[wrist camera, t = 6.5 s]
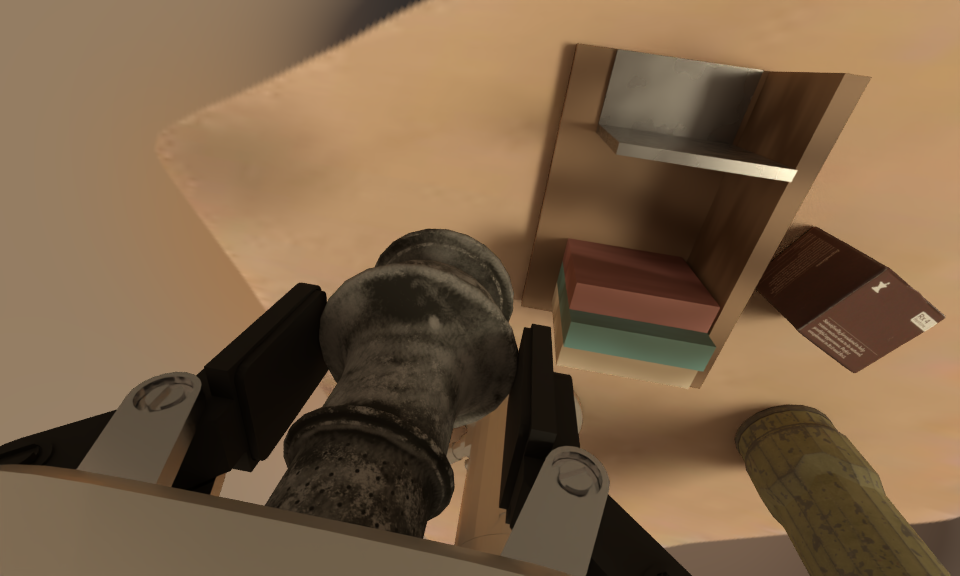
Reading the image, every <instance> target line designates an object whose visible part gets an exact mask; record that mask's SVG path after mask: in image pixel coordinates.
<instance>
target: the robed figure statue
mask: <svg viewBox="0 0 960 576" xmlns="http://www.w3.org/2000/svg"><path fill="white" fill-rule="evenodd" d="M735 443H736V448H737V450H738V452H739V453H740V455H741V456H742V458H743V459H744V461H745V465H746V471H747V472H748V474H749V476H750V478H751V480H752V482H753V484H754V486H755V488H756V490H757V492H758V493H759V495H760V497H761V499H762V500H763V502H764V504H765V505H766V507H767V508H768V510H769V511H770V513H771V514H772V516H773V517H774V518H775V519H776V520H777V521H778V522H779V523H780V524H781V525H782V526H783V527H784V529H785V530H786V532H787V534H788V536H789V538H790V540H791V541H792V543H793V545H794V547H795V549H796V551H797V552H798V554H799V556H800V558H801V560H802V562H803V564H804V566H805V567H806V569H807V571H808V573H809V575H810V576H951V575H950V573H949V572H948V571H947V570H946V569H945V567H944V566H943V565H942V564H941V562H940V561H939V560H938V559H937V558H936V556H935V555H934V554H933V553H932V552H931V550H930V549H929V548H928V547H927V545H926V544H925V543H924V542H923V541H922V539H921V538H920V537H919V536H918V534H917V533H916V532H915V531H914V530H913V528H912V527H911V526H910V525H909V523H908V522H907V521H906V520H905V518H904V517H903V516H902V515H901V513H900V512H899V511H898V510H897V509H896V507H895V506H894V505H893V504H892V502H891V501H890V500H889V499H888V498H887V496H886V494H885V492H884V489H883V486H882V483H881V480H880V477H879V475H878V474H877V473H876V471H875V470H874V469H873V468H872V467H871V465H870V464H869V463H868V462H867V461H866V459H865V458H864V457H863V456H862V455H861V454H860V452H859V451H858V450H857V449H856V448H855V446H854V445H853V444H852V443H851V442H850V440H849V439H848V438H847V437H846V436H845V435H843V434H841V433H840V432H838V431H837V429H836V428H835V427H834V426H833V424H832V422H831V421H830V420H829V418H828V417H827V416H826V415H825V414H823V413H822V412H820V411H818V410H817V409H814V408H811V407H807V406H803V405H784V406H778V407H772V408H769V409H766V410H764V411H761V412H759V413H756V414H755V415H753V416H752V417H750V418H749V419H747V420H746V421H745V422H744V423H743V424H742V426H741V427H740V428H739V429H738V431H737V434H736V437H735Z"/></svg>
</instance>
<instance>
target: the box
mask: <svg viewBox="0 0 960 576" xmlns="http://www.w3.org/2000/svg"><path fill="white" fill-rule="evenodd" d="M756 290H757V291H758V292H759V293H760V294H761V295H762V296H763V297H764V298H765V299H767V300H768V301H769V302H770V303H771V304H772V305H773V306H774V307H775V308H776V309H777V310H778V311H779V312H780V313H781V314H782V315H783V316H784V317H785V318H786V319H787V320H788V321H789V322H790V323H791V324H792V325H793V326H794V327H795V328H796V330H797V331H798V332H799V333H800V334H802V335H803V336H804V337H806V338H807V339H808V340H809V341H811V342H812V343H813V344H815V345H816V346H817V347H819V348H820V349H821V350H823V351H824V352H825V353H827V354H828V355H829V356H831V357H832V358H833V359H835V360H836V361H837V362H839V363H840V364H841V365H842V366H844V367H845V368H847V369H848V370H850V371H851V372H853V373H857V372H858V371H860V370H862V369H864V368H865V367H867V366H869V365H870V364H872V363H873V362H875V361H877V360H878V359H880V358H882V357H883V356H885V355H886V354H888V353H890V352H891V351H893V350H895V349H896V348H898V347H900V346H901V345H903V344H905V343H906V342H908V341H910V340H911V339H913V338H915V337H916V336H918V335H920V334H921V333H923V332H925V331H927V330H928V329H930V328H931V327H933V326H934V325H936V324H937V323H939V322H940V321H942V320H943V319H944V318H945V315H944V314H942V313H941V312H940V311H939V310H938V309H937V308H936V307H934V306H933V305H932V304H931V303H930V302H928V301H927V300H926V299H925V298H924V297H923V296H922V295H921V294H920V293H919V292H918V291H916V290H915V289H913V288H912V287H911V286H910V285H908V284H907V283H906V282H905V281H904V280H903V279H902V278H901V277H899V276H898V275H897V274H896V273H895V272H894V271H892V270H891V269H890V268H889V267H886V266H885V265H883V264H881V263H879V262H877V261H876V260H874V259H873V258H871V257H869V256H867V255H866V254H864V253H862V252H860V251H859V250H857V249H855V248H853V247H852V246H850V245H848V244H847V243H845V242H843V241H841V240H839V239H837V238H836V237H834V236H832V235H830V234H828V233H827V232H825V231H823V230H822V229H820V228H818V227H813V228H812V229H810V230H809V231H808V232H807V233H805V234H804V235H803V236H802V237H800V238H799V239H798V240H797V241H795V242H794V243H793V244H792V245H791V246H790V247H788V248H787V249H786V250H785V251H784V252H782V253H781V254H780V255H779V256H777V257H776V258H775V259H774V260H773V261H771V262H770V263H769V264H768V266H767V268H766V270H765V271H764V273H763V275H762V277H761V279H760V280H759V282H758V284H757V286H756Z"/></svg>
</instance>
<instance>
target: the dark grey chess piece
mask: <svg viewBox="0 0 960 576" xmlns="http://www.w3.org/2000/svg"><path fill="white" fill-rule="evenodd" d="M513 295H514V292H513V288H512V285H511V281H510V277H509V274H508V273H507V271H506V269H505V268H504V266H503V264H502V263H501V261H500V259H499V258H498V257H497V256H496V255H495V254H494V253H493V252H491V251H490V250H489V249H488V248H487V247H486V246H485V245H484V244H482V243H480V242H478V241H477V240H475V239H473V238H472V237H470V236H468V235H465V234H462V233H458V232H455V231H451V230H448V229H425V230H420V231H416V232H411V233H408V234H406V235H405V236H403V237H401V238H399V239H397V240H396V241H394V242H393V243H392V244H391V245H390V246H389V247H388V248H387V249H386V250H385V251H384V252H383V253H382V254H381V255H380V257H379V259H378V261H377V263H376V265H375V267H374V268H369V269H366V270H365V271H363V272H361V273H359V274H357V275H355V276H353V277H352V278H350V279H348V280H346V281H345V282H344V283H343V284H342V285H341V286H340V287H339V288H338V289H337V291H336V292H335V293H334V294H333V295H332V296H331V297H330V298H329V299H328V302H327V304H326V306H325V309H324V311H323V313H322V315H321V318H320V329H319V342H320V346H321V350H322V355H323V359H324V361H325V363H326V365H327V367H328V369H329V371H330V372H331V374H332V376H333V378H334V380H335V381H336V382H337V385H336V386H335V388H334V389H333V391H332V393H331V394H330V396H329V397H328V399H327V400H326V402H325V404H324V405H323V407H321V408H319V409H316V410H314V411H311V412H309V413H307V414H304V415H303V416H302V417H301V418H300V419H298V420H297V421H296V422H295V423H294V424H293V425H292V426H291V427H290V429H289V431H288V433H287V436H286V438H285V440H284V459H285V462H286V465H287V467H288V470H287V471H286V473H285V474H284V476H283V477H282V479H281V480H280V482H279V484H278V485H277V487H276V488H275V490H274V492H273V493H272V495H271V496H270V498H269V500H268V501H267V503H266V504H265V506H268V507H272V508H277V509H282V510H287V511H292V512H297V513H302V514H307V515H312V516H316V517H321V518H326V519H331V520H336V521H341V522H346V523H350V524H355V525H360V526H365V527H370V528H374V529H379V530H384V531H389V532H393V533H398V534H403V535H408V536H412V537H417V538H422V539H423V536H424V532H425V528H426V524H427V521H429V520H430V519H432V518H434V517H436V516H438V515H440V513H441V512H442V511H443V510H444V509H445V508H446V507H447V506H448V505H449V503H450V500H451V497H452V495H453V492H454V487H455V486H454V472H453V470H452V467H451V465H450V463H449V461H448V459H447V452H448V447H449V443H450V439H451V434H452V430H453V428H458V427H461V426H464V425H467V424H470V423H473V422H476V421H479V420H480V419H482V418H483V417H485V416H486V415H488V414H489V413H491V412H493V411H494V410H496V409H497V408H498V406H499V405H500V404H501V403H502V402H503V401H504V400H505V398H506V397H507V396H508V395H509V394H510V391H511V389H512V386H513V383H514V379H515V375H516V370H517V366H518V348H517V345H516V341H515V337H514V334H513V330H512V328H511V326H510V325H509V320H510V317H511V314H512V312H513Z"/></svg>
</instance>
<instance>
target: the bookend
mask: <svg viewBox="0 0 960 576" xmlns="http://www.w3.org/2000/svg"><path fill="white" fill-rule="evenodd" d="M763 71H764V70H757V69H751V68H744V67H737V66H730V65H723V64H717V63H710V62H703V61H696V60H689V59H682V58H676V57H669V56H662V55H655V54H648V53H641V52H635V51H628V50H621V49H617V52H616V56H615V60H614V64H613V68H612V72H611V75H610V79H609V83H608V87H607V91H606V95H605V99H604V102H603V106H602V110H601V114H600V118H599V122H598V125H597V129H596V133H597V134H598V135H599V137H600V138H601V139H602V140H603V141H604V142H605V143H606V144H607V145H608V146H609V147H610V149H611V150H612V151H613V152H614V153H615V154H616V155H622V156H629V157H635V158H641V159H648V160H654V161H660V162H667V163H673V164H679V165H686V166H692V167H698V168H705V169H711V170H717V171H724V172H730V173H737V174H743V175H749V176H756V177H762V178H768V179H775V180H781V181H787V182H792V180H793V178H794V176H795V175H796V173H797V171H798V170H795V169H793V168H790V167H788V166H785V165H783V164H780V163H778V162H775V161H773V160H770V159H768V158H765V157H763V156H760V155H758V154H755V153H753V152H750V151H748V150H745V149H743V148H740V147H737V146H735V145H732V143H733V141H734V139H735V136H736V134H737V132H738V129H739V127H740V125H741V122H742V120H743V118H744V115H745V113H746V111H747V108H748V106H749V104H750V101H751V99H752V97H753V94H754V92H755V90H756V87H757V85H758V82H759V80H760V78H761V75H762V73H763Z"/></svg>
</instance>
